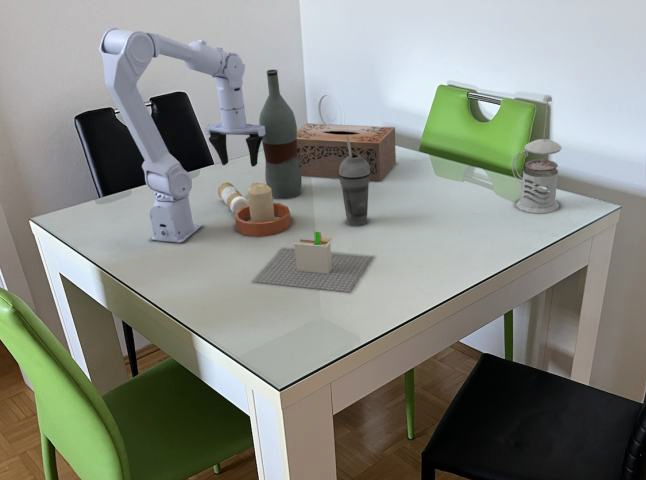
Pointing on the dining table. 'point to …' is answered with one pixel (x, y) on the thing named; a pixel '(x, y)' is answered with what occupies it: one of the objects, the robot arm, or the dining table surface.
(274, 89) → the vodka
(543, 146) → the french press
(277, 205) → the orange faceted bracelet
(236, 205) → the sprinkles bottle
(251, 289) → the dining table surface
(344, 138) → the tissue box cover
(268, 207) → the candle
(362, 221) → the beverage cup
